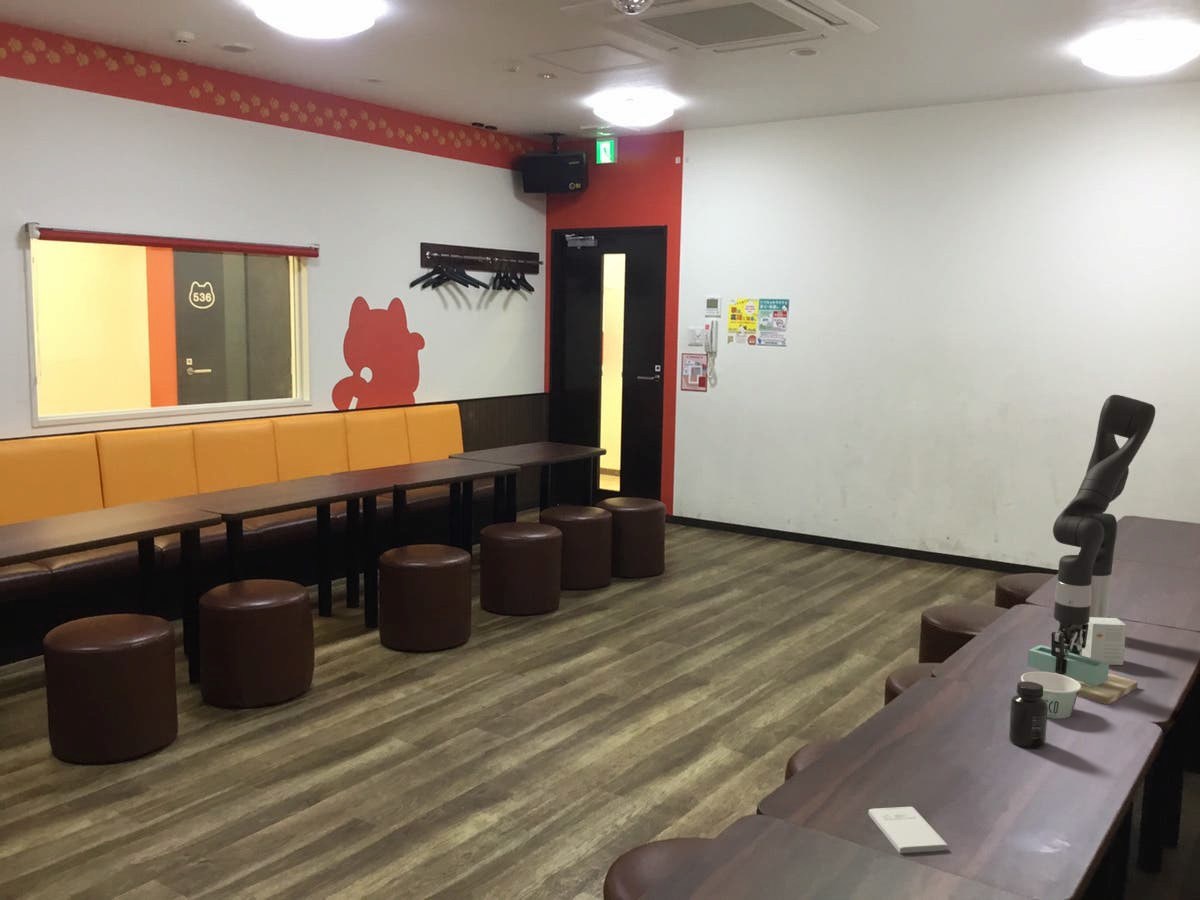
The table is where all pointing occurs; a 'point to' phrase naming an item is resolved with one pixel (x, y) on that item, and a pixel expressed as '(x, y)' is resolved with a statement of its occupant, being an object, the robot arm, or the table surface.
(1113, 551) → the robot arm
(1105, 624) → the small box
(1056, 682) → the food container
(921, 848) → the external hard drive
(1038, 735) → the supplement bottle
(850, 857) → the table surface
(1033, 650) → the teal rectangular frame
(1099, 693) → the peg board
